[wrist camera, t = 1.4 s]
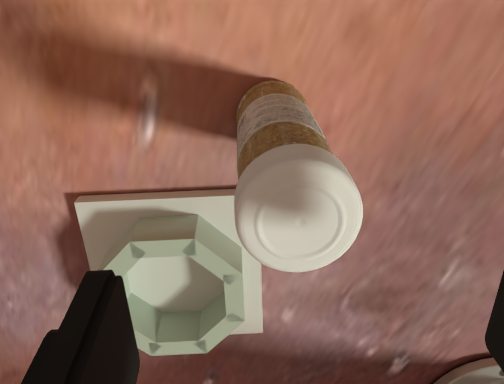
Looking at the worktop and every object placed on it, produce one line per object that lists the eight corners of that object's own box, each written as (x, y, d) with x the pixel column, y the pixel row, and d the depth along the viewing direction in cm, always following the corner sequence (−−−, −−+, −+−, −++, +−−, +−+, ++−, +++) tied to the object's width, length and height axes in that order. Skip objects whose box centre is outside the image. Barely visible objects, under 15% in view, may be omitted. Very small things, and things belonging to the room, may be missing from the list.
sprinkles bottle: (289, 158, 28) (329, 292, 16) (224, 134, 27) (214, 255, 15) (320, 94, 27) (390, 189, 14) (251, 65, 26) (265, 142, 14)
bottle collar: (262, 323, 34) (265, 363, 31) (111, 331, 34) (96, 372, 31) (257, 187, 29) (261, 217, 26) (79, 195, 29) (56, 226, 25)
